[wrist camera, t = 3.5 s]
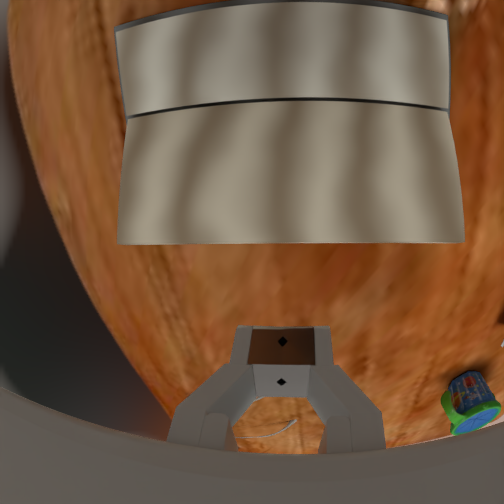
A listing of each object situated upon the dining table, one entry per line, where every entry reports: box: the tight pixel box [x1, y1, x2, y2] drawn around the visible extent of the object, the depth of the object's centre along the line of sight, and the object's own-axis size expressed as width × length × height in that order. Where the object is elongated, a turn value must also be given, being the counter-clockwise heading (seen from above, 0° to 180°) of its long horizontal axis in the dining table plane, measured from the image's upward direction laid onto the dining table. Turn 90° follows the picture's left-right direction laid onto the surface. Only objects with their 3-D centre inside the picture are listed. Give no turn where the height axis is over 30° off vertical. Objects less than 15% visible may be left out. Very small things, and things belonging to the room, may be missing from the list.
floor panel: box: [114, 0, 451, 124], centre depth 26 cm, size 32×25×2 cm
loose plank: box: [117, 101, 465, 245], centre depth 25 cm, size 30×12×2 cm
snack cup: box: [441, 371, 501, 436], centre depth 42 cm, size 16×10×10 cm
